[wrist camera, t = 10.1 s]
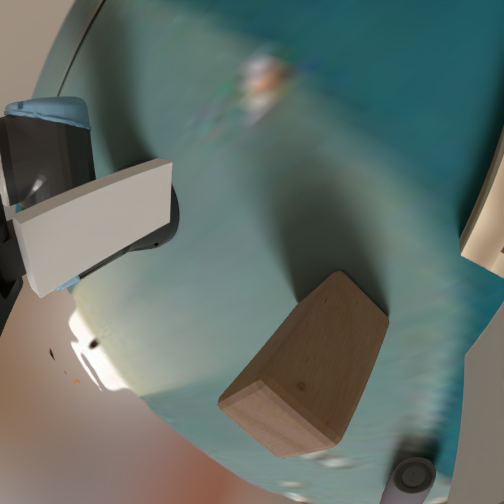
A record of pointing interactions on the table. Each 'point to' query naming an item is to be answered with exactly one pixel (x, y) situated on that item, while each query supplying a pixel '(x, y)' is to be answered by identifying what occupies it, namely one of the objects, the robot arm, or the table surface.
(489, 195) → the hole block
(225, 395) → the wooden block
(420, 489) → the bluetooth speaker
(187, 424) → the table surface
